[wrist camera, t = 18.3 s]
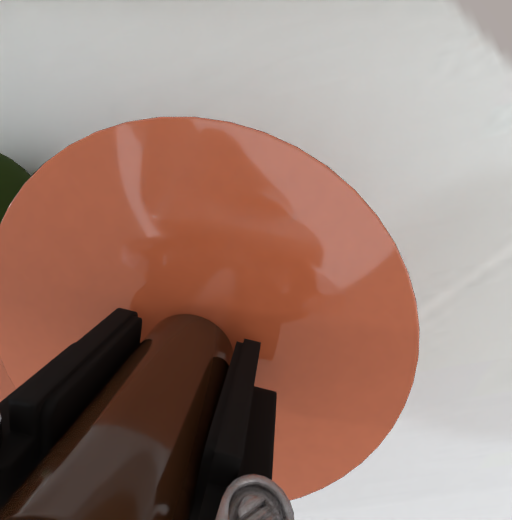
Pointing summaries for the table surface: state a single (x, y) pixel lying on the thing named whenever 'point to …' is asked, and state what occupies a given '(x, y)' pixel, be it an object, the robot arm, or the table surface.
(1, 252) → the lid
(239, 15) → the table surface
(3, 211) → the avocado
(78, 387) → the robot arm
